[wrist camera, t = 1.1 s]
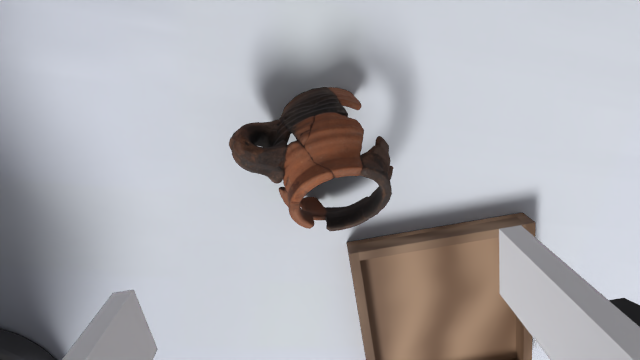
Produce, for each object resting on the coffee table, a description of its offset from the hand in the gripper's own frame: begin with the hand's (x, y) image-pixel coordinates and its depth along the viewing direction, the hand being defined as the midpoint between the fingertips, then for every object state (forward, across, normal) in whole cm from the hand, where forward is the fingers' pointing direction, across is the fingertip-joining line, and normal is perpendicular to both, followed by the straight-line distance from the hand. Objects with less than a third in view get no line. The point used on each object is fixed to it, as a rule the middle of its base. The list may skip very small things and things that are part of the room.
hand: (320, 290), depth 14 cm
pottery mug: (+19, 0, 0) cm, 19 cm away
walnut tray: (+18, +9, -17) cm, 27 cm away
